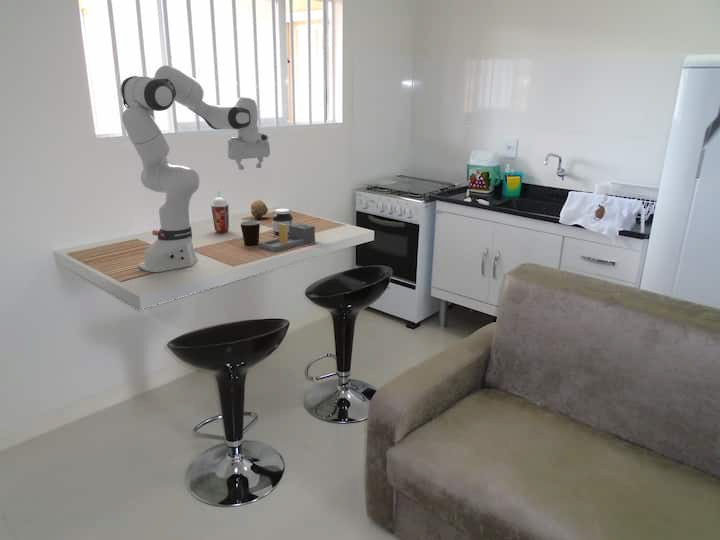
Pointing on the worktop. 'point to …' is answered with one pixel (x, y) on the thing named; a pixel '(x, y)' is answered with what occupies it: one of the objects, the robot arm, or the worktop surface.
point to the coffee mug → (250, 232)
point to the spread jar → (282, 219)
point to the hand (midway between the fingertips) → (250, 168)
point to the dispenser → (292, 237)
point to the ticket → (283, 233)
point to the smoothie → (220, 214)
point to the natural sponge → (258, 209)
